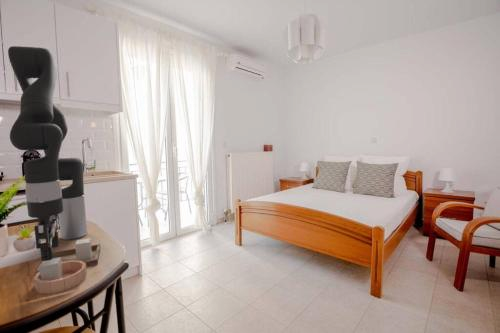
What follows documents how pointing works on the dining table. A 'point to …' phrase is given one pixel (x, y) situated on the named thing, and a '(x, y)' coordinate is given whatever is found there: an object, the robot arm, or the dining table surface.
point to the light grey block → (51, 269)
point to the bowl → (71, 277)
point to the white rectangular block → (83, 249)
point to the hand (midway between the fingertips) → (51, 253)
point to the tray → (71, 255)
